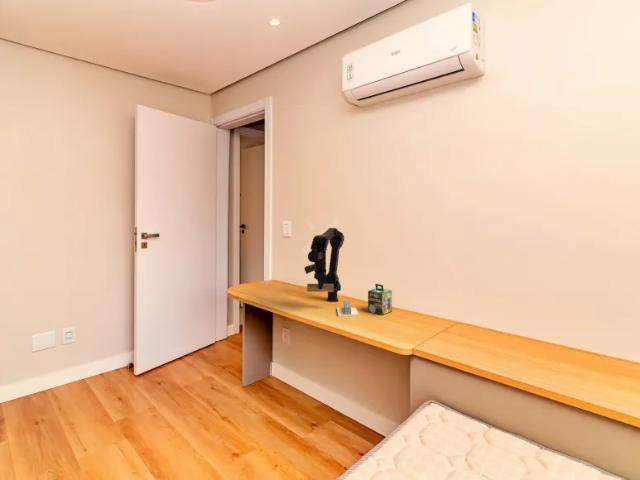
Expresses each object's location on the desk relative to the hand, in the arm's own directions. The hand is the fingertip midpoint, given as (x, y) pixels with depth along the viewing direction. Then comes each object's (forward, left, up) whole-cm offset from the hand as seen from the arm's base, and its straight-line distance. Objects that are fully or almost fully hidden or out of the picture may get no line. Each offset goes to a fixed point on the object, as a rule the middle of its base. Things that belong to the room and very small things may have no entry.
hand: (320, 288), depth 187 cm
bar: (0, 0, -1) cm, 1 cm away
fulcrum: (+6, +14, -11) cm, 19 cm away
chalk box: (+4, +31, -11) cm, 33 cm away
